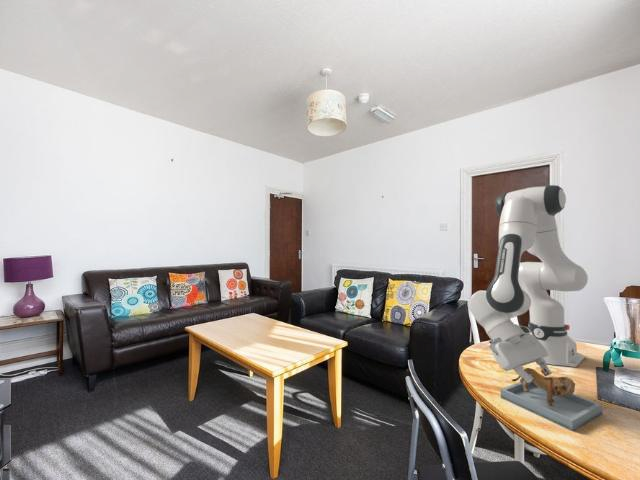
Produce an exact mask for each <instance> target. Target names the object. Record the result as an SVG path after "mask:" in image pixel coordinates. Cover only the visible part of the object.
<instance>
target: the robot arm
mask: <svg viewBox="0 0 640 480" xmlns="http://www.w3.org/2000/svg"><path fill="white" fill-rule="evenodd" d="M566 201H567V196H566V193H565V191H564V189H563V188H562V187H561V186H559V185H554V184H553V185H551V184H548V185H546V186H532V187H526V188H523V189H517V190H513V191H510V192H509V191H507V192H504V193H500V194H499V195H498V196H497V197H496V199H495V201H494V209H495V213H496V214H497V216H498V217H500V219H499V223H498V225H499V226H498V250H497V255H496V256H497V257H496V262H495V271H494V274H493V275H494V276H493V277H492V280H491V282H489V284H488V287H487V288H486V290H481V289H480V290H478V291H475V292H474V293H473V294H471V295H470V297H469V298H468V300H467V307H468V310H469V312H470V313H471V314H472V316H473V317H474V319H475V321H476V322H477V323H478V324H479V325H480V326H481V327H482V328H483V329H484V331H485V333H486V334H487V336H488V337H489V339H490V340H488V348H490V350H491V351H490V352H491V354H492V355H493V357H494V360H495V361H496V362H497V363H498V365H499V367H500V368H501V369H502V370H503V371H505V372H508V371H511V370H512V371H514V373H515V374H517V375H518V376H519V375H520V376H521V377H522V378H524V380H525V381H526V382H527V383H530V382H532V381H534V378H533V377H532V376H531V374H529V375H528V373H526V372H525V371H524V366H526V365H529V364H531V363H536V365H539V367H540V369H541V371H540V372H541V373H542V374H543V376H544V377H547V376H550V375H551V374H552V373H553V372H552V371H551V369H550V368H549V367H548V365H553V366H562V367H564V366H566V367H570V368H572V367H573V368H577V366H579V365H580V364H581V363H582V362H583V361H584V359H586V357H585V355H584V354H582V353H579V352H578V350H577V349H578V346H577V343H576V342H575V341H574V340H573V338H571V337H570V336H568V331H569V330H570V328H571V327H570V324H565V309H564V306H563V305H562V303H561V302H559V301H558V300H556V299H555V298H553V297H552V296H550V295H549V293H548V291H558V292H579V291H582V290H584V288H585V287H586V285H587V284H588V281H589V277H588V274H587V271H586V270H585V269H584V268H583V267H582V266H581V265H579V264H576V263H575V262H573V261H572V260H571V259H570V258H569V257H568V256H567V255H566V254H565V252H564V251H563V248H562V247H561V243H560V239H559V235H558V234H559V233H558V227H557V221H556V217H555V216H556V215H557V214H559V213H561V212H562V210H563V209H564V208H565V205H566V203H567V202H566ZM526 251H527V253H529V254H530V255H532V256H534V257H537V258H538V259H540V262H538V261H524V262H521V257H522V255H523V253H524V252H526ZM547 290H548V291H547ZM528 311H529V321H528V326H523V325H519V324H515V323H514V322H513V321H512V320H511V319H513V318H515V317H519V316H521V315H523V314H526V313H527V312H528ZM521 377H520V378H521Z"/></svg>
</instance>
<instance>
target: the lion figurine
mask: <svg viewBox="0 0 640 480" xmlns="http://www.w3.org/2000/svg"><path fill="white" fill-rule="evenodd" d="M523 370H524V371H525V372H526V373H528V375H529V374H531V376H532V377H533V378H534V383H535V384H536V385H537V386H538V387H539V388H541V389H543V390H545V391H547V404H548V405H550V406H552V405H553V404H552V403H551V402H554V400H553V399H552V398H553V396H558V397H560V398H561V397H563V396H568V395H569V396H570V395H572V394H575V390H576V389H575V388H576V383H575V382H574V380H573V379H572V378H570V377H568V376H557V377H555V376H549V377H547V376H545V375H542V374H540V373H539V372H538V371H537V370H535V369H533V368H530V367H525V368H523ZM518 380H519V382H520V384H522V385H523V387H524V391H525V392H529V390H528V389H527V388H526V386H527V384H528V383H527V382H526V381H524V378H522V377H521V376H520V375H518V376H517V377H516V378H513V379H511V381H512V382H517V381H518ZM523 381H524V383H523Z"/></svg>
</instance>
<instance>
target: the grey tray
mask: <svg viewBox="0 0 640 480" xmlns="http://www.w3.org/2000/svg"><path fill="white" fill-rule="evenodd" d="M524 381H525V380H524ZM524 381H523V383H524ZM526 388H527V389H528V390H529V392H525V391H524V387H523V385H522V384H520V381H519V382H516V383H514V384H511V385H508V386H506V387H503V388H500V398H501V399H503V400H505V401H507V402H510V403H512V404H514V405H515V406H518V407H520V408H522V409H525V410H527V411H529V412H531V413H533V414H535V415H537V416H539V417H541V418H543V419H545V420H548V421H550V422H552V423H554V424H557V425H559V426H561V427H563V428H565V429H567V430H569V431H571V432H573V431H575V430H578V429H579V428H580V427H582V426H584V425H585V424H587V423H589V422H590V421H593V420H594V419H596V418H597V417H599V416H601V415H603V404H602V403H599V402H595V401H593V400H590V399H588V398H585V397H583V396H580V395H577V394H575V393H573V394H572V395H570V396H569V395H568V396H563V397H561V398H560V397H558V396H553V398H552V399H553V400H554V402H551V403H552V404H553V405H552V406H550V405H548V404H547V391H545V390H543V389H541V388H539V387H538V386H537V385H536V384H535V383H534V381H532V382H530V383H528V384H527V386H526Z"/></svg>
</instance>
